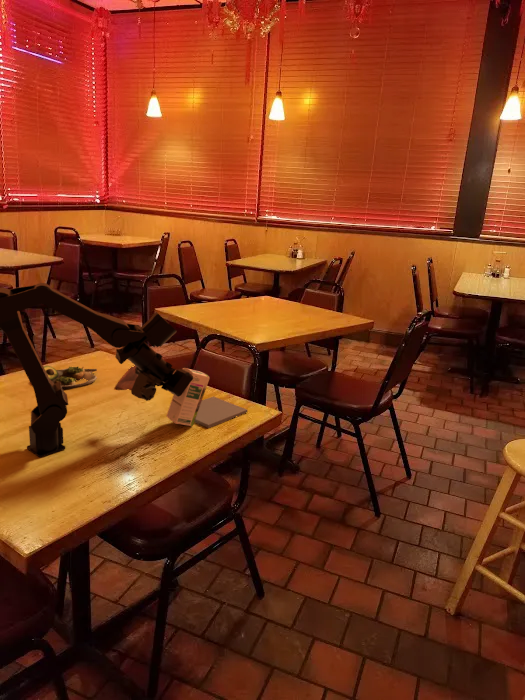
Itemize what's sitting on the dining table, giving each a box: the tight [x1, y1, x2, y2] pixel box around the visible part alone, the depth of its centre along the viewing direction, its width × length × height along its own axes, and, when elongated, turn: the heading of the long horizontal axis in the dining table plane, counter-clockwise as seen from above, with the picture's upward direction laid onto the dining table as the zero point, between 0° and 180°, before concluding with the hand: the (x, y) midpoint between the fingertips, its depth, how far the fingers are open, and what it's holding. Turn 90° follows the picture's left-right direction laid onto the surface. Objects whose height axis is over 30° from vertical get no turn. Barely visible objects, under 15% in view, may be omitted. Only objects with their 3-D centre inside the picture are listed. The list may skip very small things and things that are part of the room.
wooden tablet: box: [115, 365, 138, 391], centre depth 174 cm, size 26×2×10 cm
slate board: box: [194, 395, 248, 429], centre depth 148 cm, size 16×14×1 cm
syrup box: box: [166, 367, 210, 427], centre depth 138 cm, size 6×6×14 cm
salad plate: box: [43, 365, 98, 390], centre depth 167 cm, size 19×18×5 cm
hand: (181, 391), depth 136 cm, fingers closed
